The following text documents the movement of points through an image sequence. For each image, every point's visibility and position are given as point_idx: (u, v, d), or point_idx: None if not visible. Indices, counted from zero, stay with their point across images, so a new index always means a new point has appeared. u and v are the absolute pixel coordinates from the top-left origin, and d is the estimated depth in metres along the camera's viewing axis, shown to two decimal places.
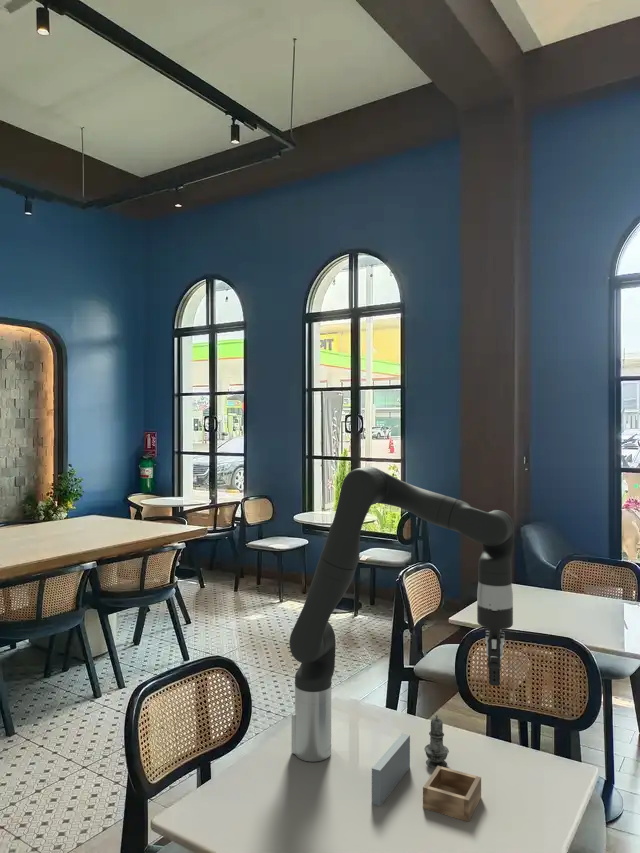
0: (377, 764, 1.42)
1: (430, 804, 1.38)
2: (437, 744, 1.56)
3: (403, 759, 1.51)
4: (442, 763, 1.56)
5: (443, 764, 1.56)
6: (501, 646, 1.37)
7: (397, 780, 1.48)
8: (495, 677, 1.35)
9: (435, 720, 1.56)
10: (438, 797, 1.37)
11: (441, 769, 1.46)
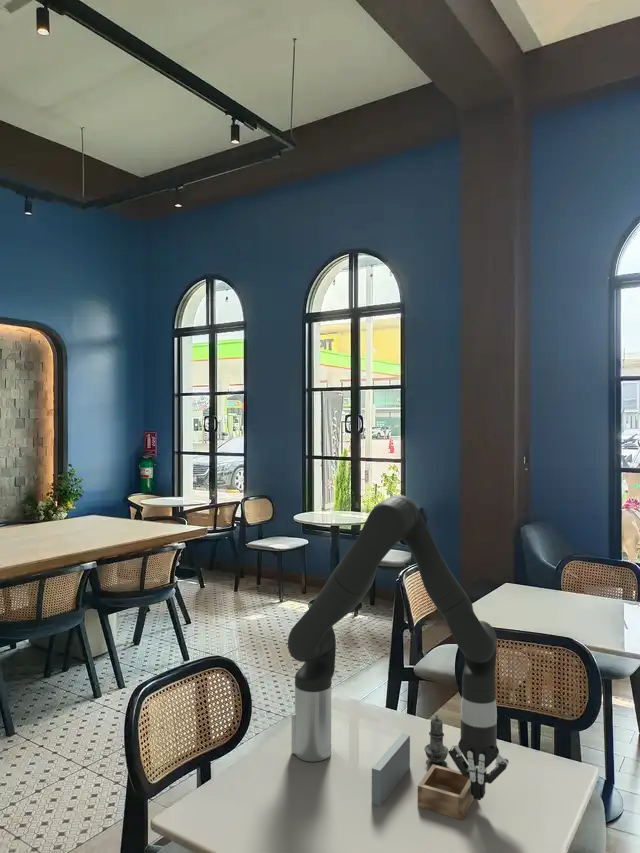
0: (377, 764, 1.42)
1: (425, 802, 1.39)
2: (437, 744, 1.56)
3: (403, 759, 1.51)
4: (442, 763, 1.56)
5: (443, 764, 1.56)
6: None
7: (397, 780, 1.48)
8: (484, 789, 1.38)
9: (435, 720, 1.56)
10: (433, 795, 1.38)
11: (436, 768, 1.47)
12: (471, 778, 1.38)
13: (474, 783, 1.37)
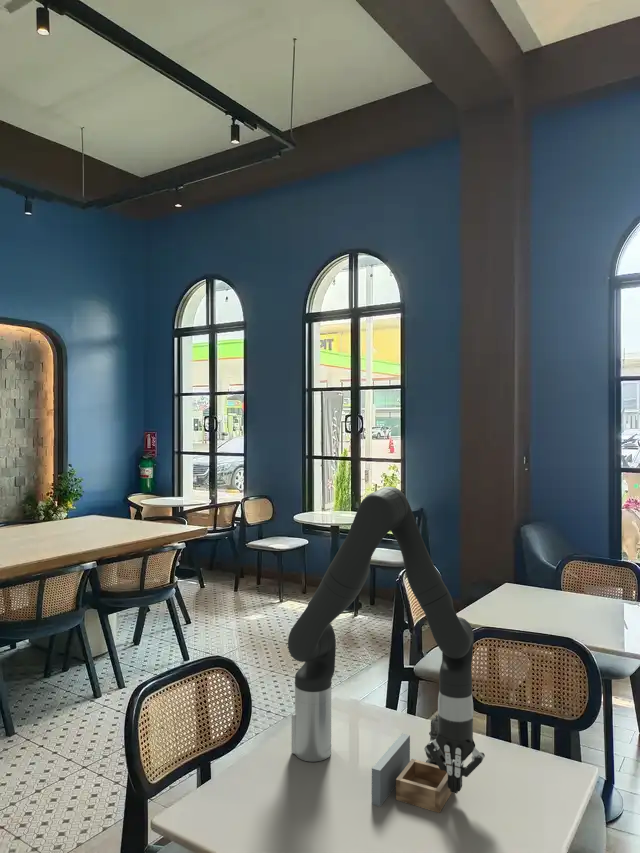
0: (377, 764, 1.42)
1: (403, 796, 1.41)
2: None
3: (403, 759, 1.51)
4: None
5: None
6: None
7: None
8: (461, 783, 1.40)
9: (435, 720, 1.56)
10: (410, 789, 1.40)
11: (415, 762, 1.49)
12: (448, 771, 1.40)
13: (451, 776, 1.40)
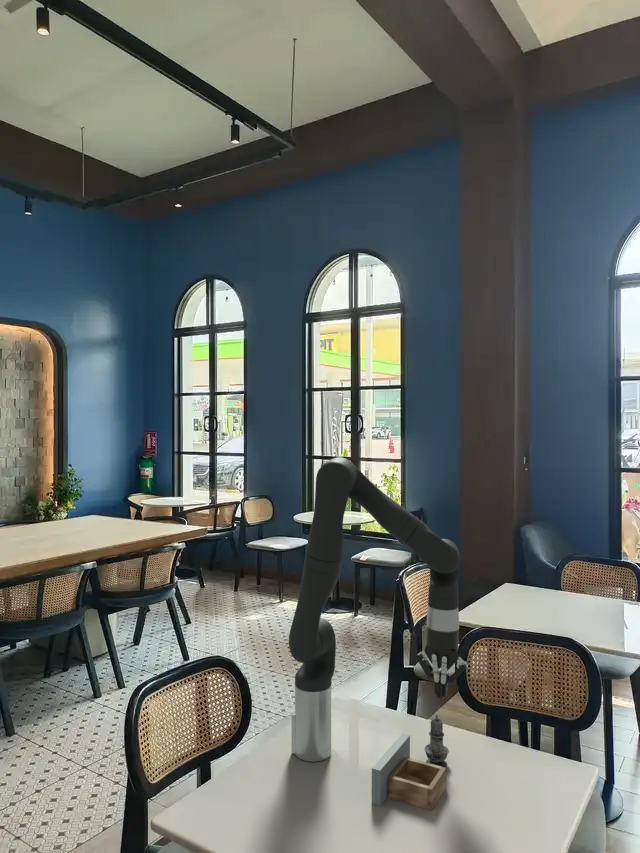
0: (377, 764, 1.42)
1: (395, 794, 1.42)
2: (437, 744, 1.56)
3: None
4: (442, 763, 1.56)
5: (443, 764, 1.56)
6: None
7: None
8: (447, 689, 1.53)
9: (435, 720, 1.56)
10: (403, 787, 1.41)
11: (408, 760, 1.50)
12: (435, 679, 1.53)
13: (437, 683, 1.52)
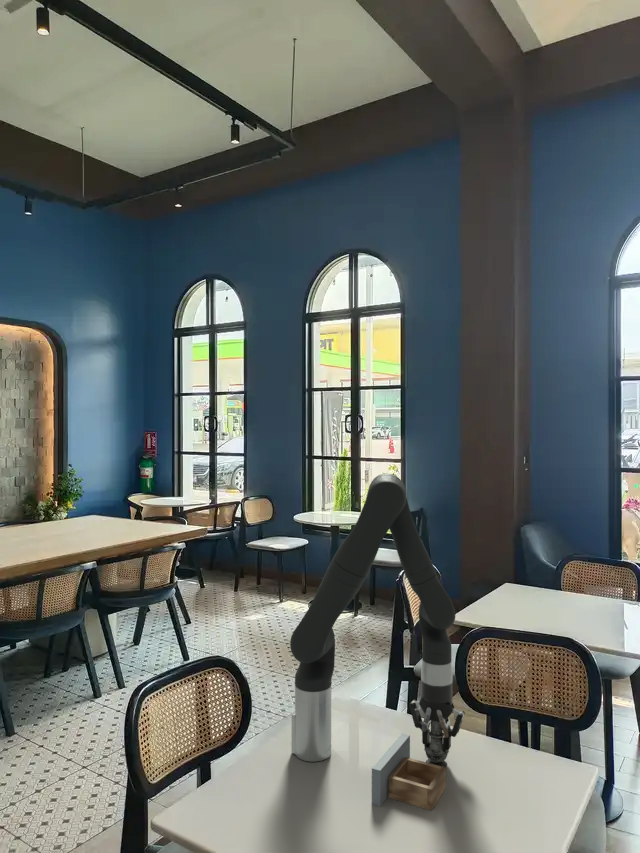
0: (377, 764, 1.42)
1: (395, 794, 1.42)
2: (437, 744, 1.56)
3: None
4: (442, 763, 1.56)
5: (443, 764, 1.56)
6: None
7: None
8: (450, 743, 1.56)
9: None
10: (403, 787, 1.41)
11: (408, 760, 1.50)
12: (422, 729, 1.57)
13: (425, 733, 1.57)
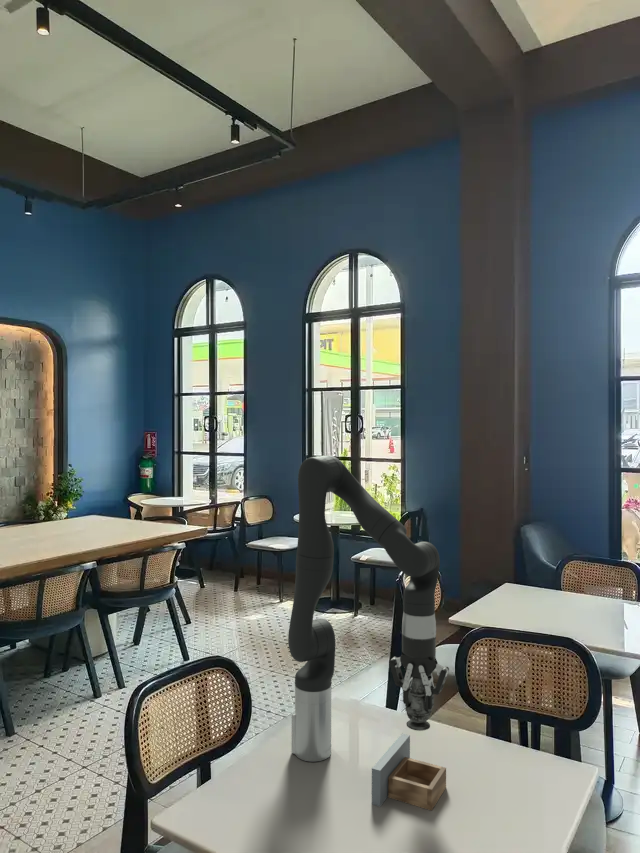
0: (377, 764, 1.42)
1: (395, 794, 1.42)
2: (419, 703, 1.43)
3: None
4: (424, 724, 1.44)
5: (425, 724, 1.44)
6: None
7: None
8: (433, 702, 1.43)
9: None
10: (403, 787, 1.41)
11: (408, 760, 1.50)
12: (403, 687, 1.45)
13: (406, 692, 1.45)
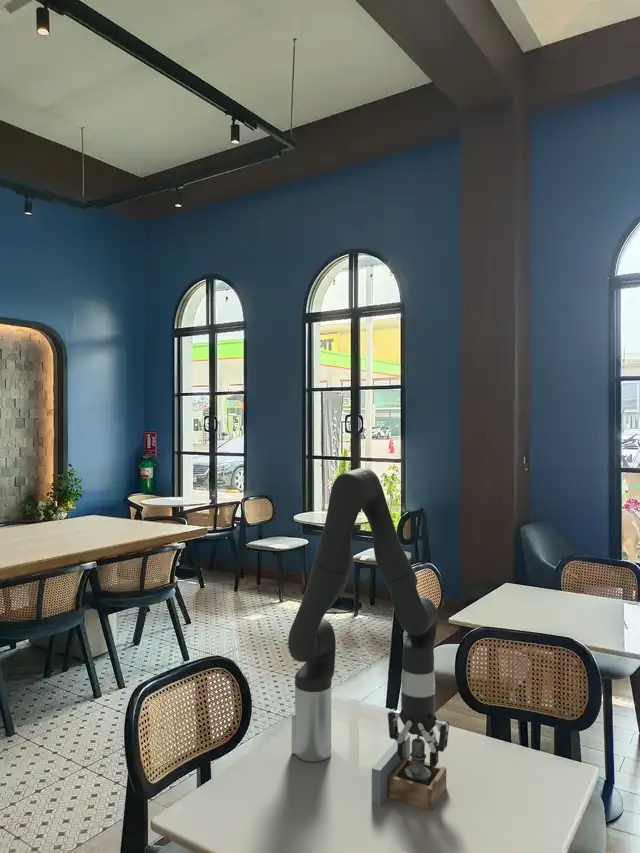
0: (377, 764, 1.42)
1: (395, 794, 1.42)
2: (419, 767, 1.43)
3: None
4: None
5: None
6: None
7: None
8: (437, 758, 1.43)
9: (416, 740, 1.44)
10: (403, 787, 1.41)
11: (408, 760, 1.50)
12: (398, 740, 1.46)
13: (400, 745, 1.45)
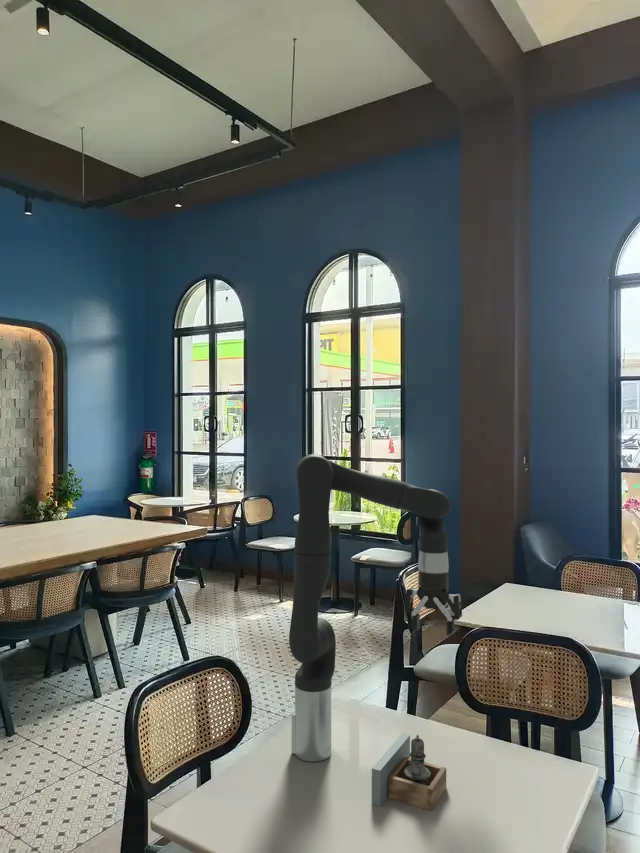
0: (377, 764, 1.42)
1: (395, 794, 1.42)
2: (418, 766, 1.43)
3: None
4: None
5: None
6: (446, 601, 1.63)
7: None
8: (453, 627, 1.61)
9: (416, 740, 1.44)
10: (403, 787, 1.41)
11: (408, 760, 1.50)
12: (412, 612, 1.65)
13: (415, 616, 1.65)
